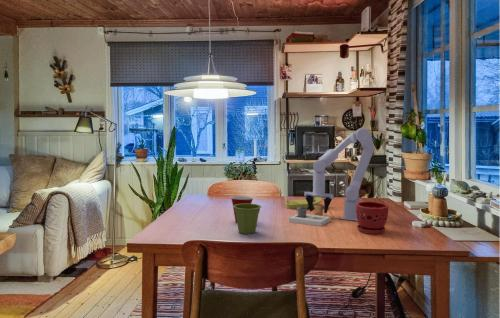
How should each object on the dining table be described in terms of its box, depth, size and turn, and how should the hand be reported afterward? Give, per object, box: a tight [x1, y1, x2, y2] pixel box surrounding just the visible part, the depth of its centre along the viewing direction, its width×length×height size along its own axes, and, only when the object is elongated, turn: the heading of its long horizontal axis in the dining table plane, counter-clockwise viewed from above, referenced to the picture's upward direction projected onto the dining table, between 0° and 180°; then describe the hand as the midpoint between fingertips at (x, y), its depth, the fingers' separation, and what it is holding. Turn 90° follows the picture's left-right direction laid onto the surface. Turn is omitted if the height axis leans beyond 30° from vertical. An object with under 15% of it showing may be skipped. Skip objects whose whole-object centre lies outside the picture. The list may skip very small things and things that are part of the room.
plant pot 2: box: [356, 200, 389, 235], centre depth 180 cm, size 13×13×12 cm
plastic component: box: [284, 196, 323, 210], centre depth 234 cm, size 20×7×10 cm
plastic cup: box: [230, 195, 254, 223], centre depth 198 cm, size 11×11×12 cm
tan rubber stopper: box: [313, 203, 324, 216], centre depth 209 cm, size 5×5×6 cm
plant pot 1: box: [232, 203, 262, 235], centre depth 179 cm, size 12×12×11 cm
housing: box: [288, 213, 332, 227], centre depth 200 cm, size 16×12×2 cm
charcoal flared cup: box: [296, 207, 308, 218], centre depth 201 cm, size 5×5×6 cm
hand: (318, 211), depth 209 cm, fingers open, 7 cm apart
